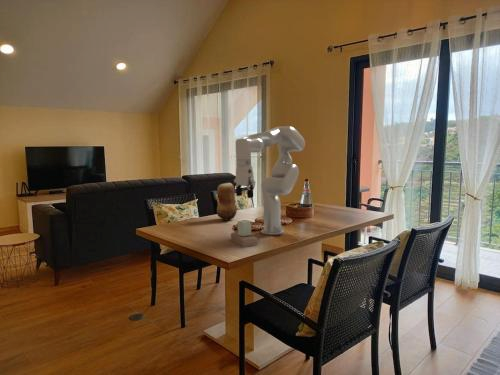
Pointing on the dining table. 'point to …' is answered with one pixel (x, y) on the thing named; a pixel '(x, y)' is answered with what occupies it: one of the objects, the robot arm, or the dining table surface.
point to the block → (244, 227)
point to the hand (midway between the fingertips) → (244, 196)
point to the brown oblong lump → (226, 201)
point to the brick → (244, 240)
